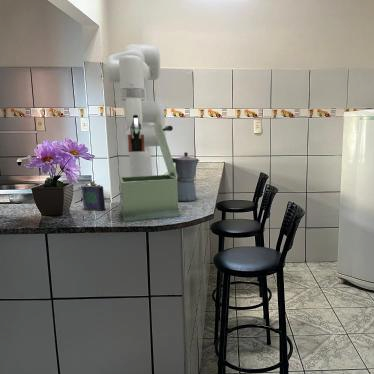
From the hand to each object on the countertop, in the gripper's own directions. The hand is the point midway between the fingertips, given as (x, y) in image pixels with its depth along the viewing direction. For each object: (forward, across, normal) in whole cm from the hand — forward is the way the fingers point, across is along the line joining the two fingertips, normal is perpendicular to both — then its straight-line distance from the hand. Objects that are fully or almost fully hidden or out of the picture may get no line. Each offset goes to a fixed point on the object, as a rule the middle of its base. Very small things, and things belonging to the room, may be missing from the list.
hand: (136, 150), depth 122 cm
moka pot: (+23, -22, +20) cm, 37 cm away
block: (0, 0, 0) cm, 0 cm away
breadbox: (+22, 0, +3) cm, 23 cm away
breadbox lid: (0, 0, +9) cm, 9 cm away
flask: (+23, -18, -15) cm, 32 cm away
